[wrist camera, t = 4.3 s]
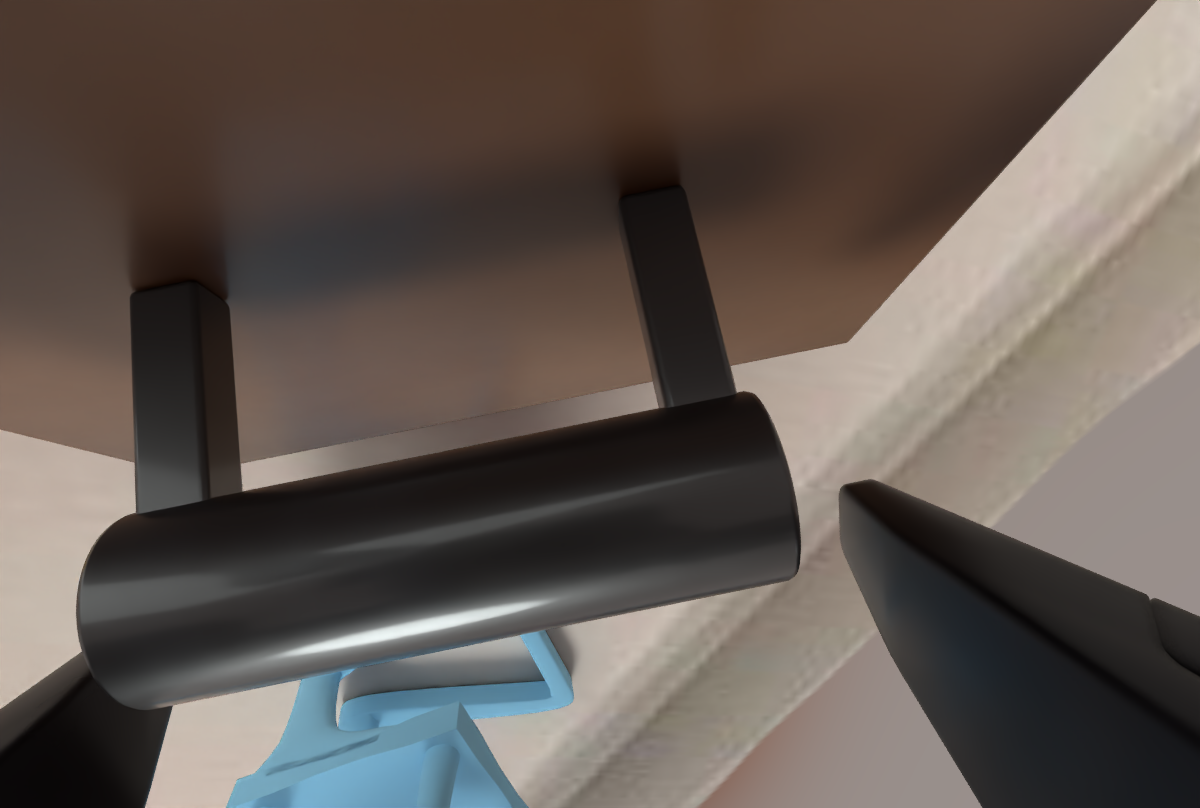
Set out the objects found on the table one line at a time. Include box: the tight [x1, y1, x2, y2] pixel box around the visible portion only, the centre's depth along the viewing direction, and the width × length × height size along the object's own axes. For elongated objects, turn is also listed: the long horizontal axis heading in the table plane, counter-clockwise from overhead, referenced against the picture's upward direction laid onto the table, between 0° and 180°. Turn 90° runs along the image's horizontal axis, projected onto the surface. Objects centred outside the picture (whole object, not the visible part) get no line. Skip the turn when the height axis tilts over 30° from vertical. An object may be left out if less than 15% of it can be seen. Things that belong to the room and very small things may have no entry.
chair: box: [226, 630, 574, 808], centre depth 20 cm, size 8×8×12 cm
